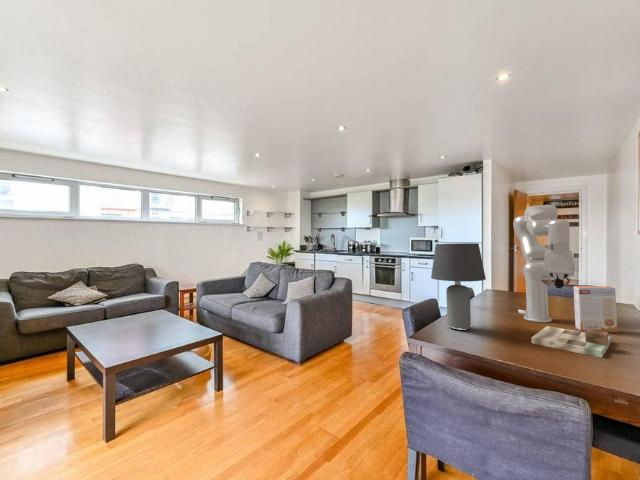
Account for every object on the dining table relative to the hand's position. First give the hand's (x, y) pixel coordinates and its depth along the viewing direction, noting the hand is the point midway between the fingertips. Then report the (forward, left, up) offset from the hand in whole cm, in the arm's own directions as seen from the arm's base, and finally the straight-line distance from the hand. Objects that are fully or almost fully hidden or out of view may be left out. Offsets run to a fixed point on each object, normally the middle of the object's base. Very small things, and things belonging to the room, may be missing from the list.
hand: (559, 287), depth 135 cm
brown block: (+13, -8, -20) cm, 25 cm away
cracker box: (+9, +22, -22) cm, 33 cm away
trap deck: (+5, -7, -22) cm, 24 cm away
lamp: (-37, -19, -22) cm, 47 cm away
